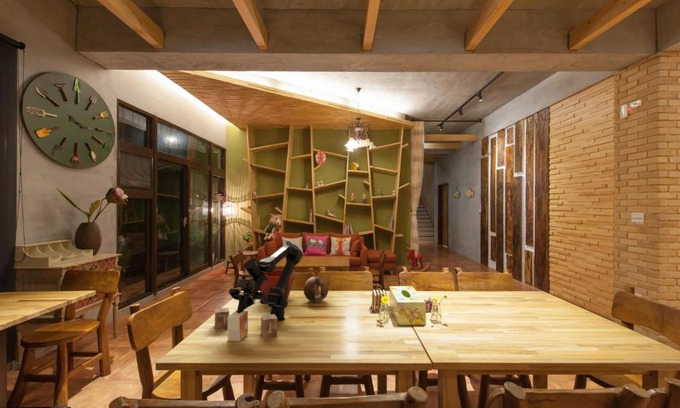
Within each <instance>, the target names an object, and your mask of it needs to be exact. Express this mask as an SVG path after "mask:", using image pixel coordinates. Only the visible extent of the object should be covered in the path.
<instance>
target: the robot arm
mask: <svg viewBox="0 0 680 408" xmlns="http://www.w3.org/2000/svg"><path fill="white" fill-rule="evenodd" d="M303 255H304V253H303V252H302V250H301V249H298V248H295V247H293V246H291V245H282V246H281V247H280V248H279V249H278V250H277V251H275V252H274V253H273V254H272V255H270V256H268V257H266V258H265V257H264V258H262V259H260V260H259V261H258V260H257V258H256V257H251V259H248V260H247V261H245V262H244V264H243V266H242V267H243V269H244V270H245V272H246V273H247V274H248V276H250V277H251V278H249V280H248V279H242V278H241V279H240V278H239V279H238V280H237V281H238V282H237V284H236V287H237V288H236V287H231V288H230V289H229V290H228V292H227V293H228V294H229V295H230V296H231V298H232V299H233V300H235V301H238V305H237V313H241V312H242V311H246V309H248V308H249V307H252V306H253V305H256V301H257V300H258V301H259V303H260V305H267V306H268V307H269V308H270V309H269V315H272V314H275V316H276V317H277V322H278V321H285V320H286V318H285V309H286V308H287V307H288V305H289V304H288V303H289V302H288V300H287V301H286V299H285V288H286V286H287V283H288V281H289V278H290V276H291V274H292V271H294V268H295V266H297V265H299V263H300V262H301V260H302V258H303ZM284 258H285V261H286V262H285V264H284V267H283V269H282V270H283V271H282V273H281V275H280V278H279V280H278V282H277V285H276V286H275V287H274V288H272V287H271V288H270V291H269V293H268V294H267V295H268V296H267V297H266V296H265V294H264V293H263V292H260V291H261V286H262V284H263V282H264V281H268V277H267V275H266V274H265V273H264V272H266V273H271V272H273V270H276V268H277V265H278V264H279V263H280V262H281V261H282V260H283V259H284ZM238 287H239V288H240V289H239V288H238Z"/></svg>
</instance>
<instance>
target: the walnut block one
mask: <svg viewBox="0 0 680 408" xmlns="http://www.w3.org/2000/svg"><path fill="white" fill-rule="evenodd" d="M260 319H261V320H260V334H261V337H262V339H269V338H277V337H278V321H277V317H276V316H275V314H272V315H270V314H265V315H264V314H263V315H261V316H260Z"/></svg>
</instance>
